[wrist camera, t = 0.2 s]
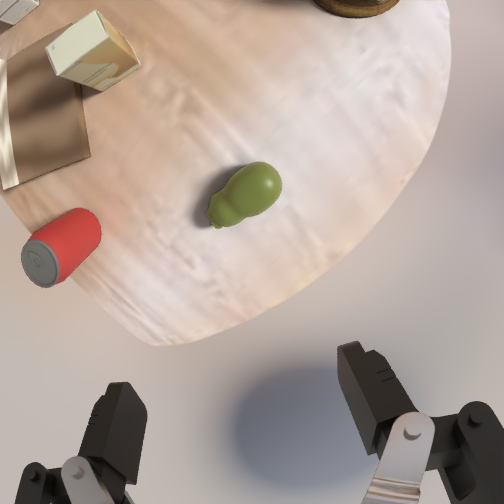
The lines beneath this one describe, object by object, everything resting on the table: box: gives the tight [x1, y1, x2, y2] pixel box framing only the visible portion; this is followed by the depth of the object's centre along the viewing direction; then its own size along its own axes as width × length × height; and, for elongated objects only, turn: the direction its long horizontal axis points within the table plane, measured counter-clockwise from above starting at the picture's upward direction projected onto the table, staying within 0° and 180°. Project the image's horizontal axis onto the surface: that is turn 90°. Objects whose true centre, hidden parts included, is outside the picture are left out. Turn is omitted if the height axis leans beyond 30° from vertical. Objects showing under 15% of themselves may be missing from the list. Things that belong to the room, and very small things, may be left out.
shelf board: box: [0, 23, 91, 190], centre depth 26 cm, size 20×13×5 cm, turn 9°
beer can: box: [21, 208, 102, 288], centre depth 30 cm, size 7×7×12 cm
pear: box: [205, 162, 282, 229], centre depth 34 cm, size 6×5×10 cm
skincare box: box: [45, 10, 141, 92], centre depth 22 cm, size 6×4×12 cm
